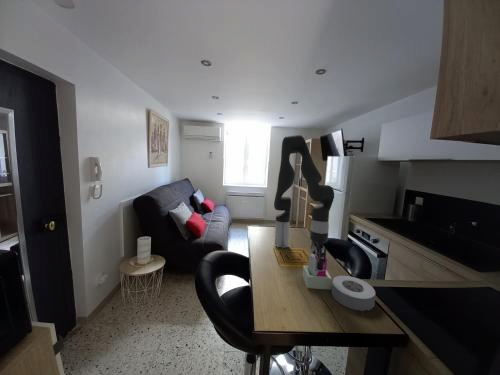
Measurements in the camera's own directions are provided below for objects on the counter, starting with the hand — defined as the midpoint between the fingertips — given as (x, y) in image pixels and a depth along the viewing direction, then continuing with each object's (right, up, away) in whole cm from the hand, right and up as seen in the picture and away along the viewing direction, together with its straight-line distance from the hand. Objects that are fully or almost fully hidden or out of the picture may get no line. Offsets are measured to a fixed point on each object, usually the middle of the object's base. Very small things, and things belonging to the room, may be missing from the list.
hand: (317, 264), depth 87 cm
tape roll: (+11, -10, -9) cm, 17 cm away
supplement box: (0, -7, 0) cm, 7 cm away
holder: (0, -8, +1) cm, 8 cm away
